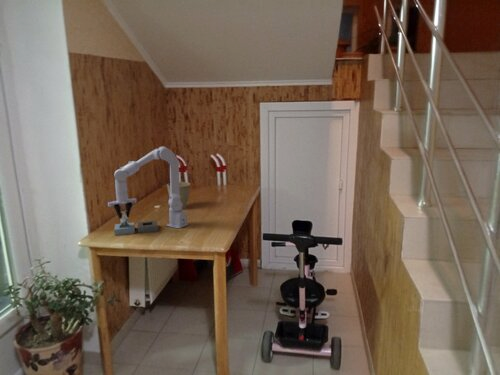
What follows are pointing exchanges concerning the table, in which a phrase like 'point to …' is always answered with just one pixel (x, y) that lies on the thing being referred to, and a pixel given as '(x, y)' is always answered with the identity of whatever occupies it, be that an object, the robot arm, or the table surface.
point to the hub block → (124, 229)
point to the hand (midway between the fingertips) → (123, 217)
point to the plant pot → (182, 192)
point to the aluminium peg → (124, 218)
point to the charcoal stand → (147, 226)
